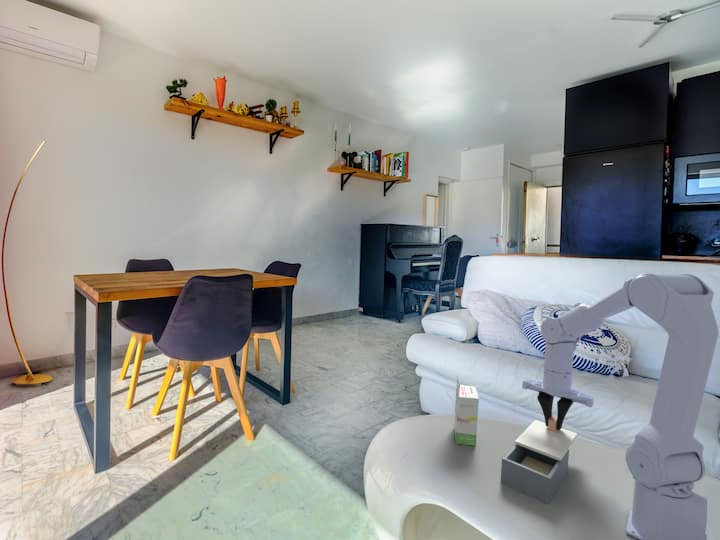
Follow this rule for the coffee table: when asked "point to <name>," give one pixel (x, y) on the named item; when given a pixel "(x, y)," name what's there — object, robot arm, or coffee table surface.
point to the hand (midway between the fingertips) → (553, 426)
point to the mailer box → (533, 472)
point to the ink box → (466, 414)
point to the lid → (547, 439)
